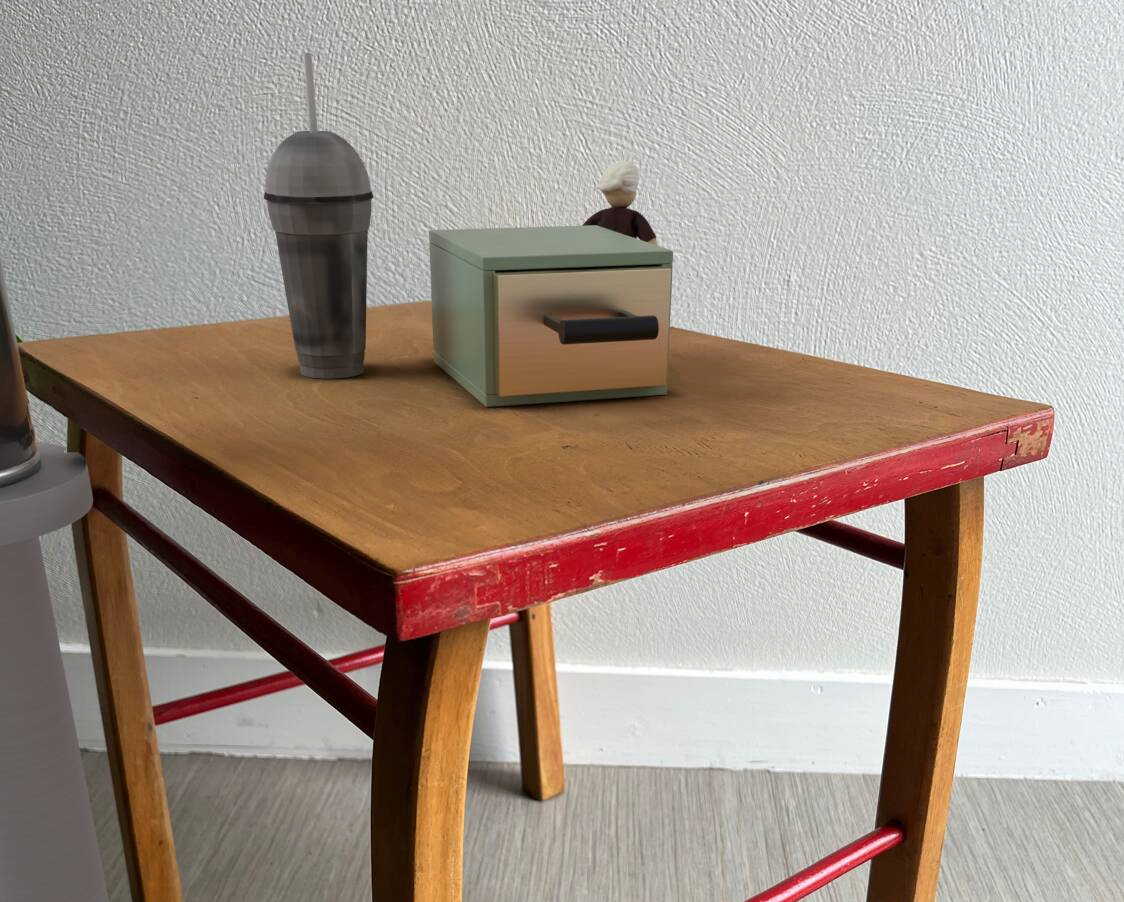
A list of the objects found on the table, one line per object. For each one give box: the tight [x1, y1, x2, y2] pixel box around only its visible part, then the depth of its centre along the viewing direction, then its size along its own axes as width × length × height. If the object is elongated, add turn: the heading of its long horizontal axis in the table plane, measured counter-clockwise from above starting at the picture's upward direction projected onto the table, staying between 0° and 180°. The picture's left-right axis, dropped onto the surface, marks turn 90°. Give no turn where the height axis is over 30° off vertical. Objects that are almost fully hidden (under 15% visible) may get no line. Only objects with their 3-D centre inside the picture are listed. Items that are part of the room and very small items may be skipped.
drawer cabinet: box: [428, 225, 674, 408], centre depth 88 cm, size 15×13×9 cm
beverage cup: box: [263, 52, 374, 380], centre depth 87 cm, size 7×7×20 cm
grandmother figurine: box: [581, 159, 659, 246], centre depth 106 cm, size 8×4×13 cm, turn 77°
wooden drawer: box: [493, 265, 671, 397], centre depth 85 cm, size 18×11×7 cm, turn 18°
